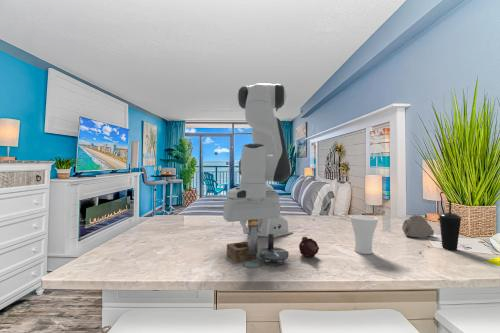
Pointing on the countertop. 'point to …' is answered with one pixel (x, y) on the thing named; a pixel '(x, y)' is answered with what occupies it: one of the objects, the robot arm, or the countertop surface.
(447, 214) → the drinking cup
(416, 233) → the pumice stone
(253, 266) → the coaster
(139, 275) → the countertop surface
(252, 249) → the orange topped grey cylinder
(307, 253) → the maroon cone figure
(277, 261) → the wheel post
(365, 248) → the cup
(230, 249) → the block
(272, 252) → the handwheel
